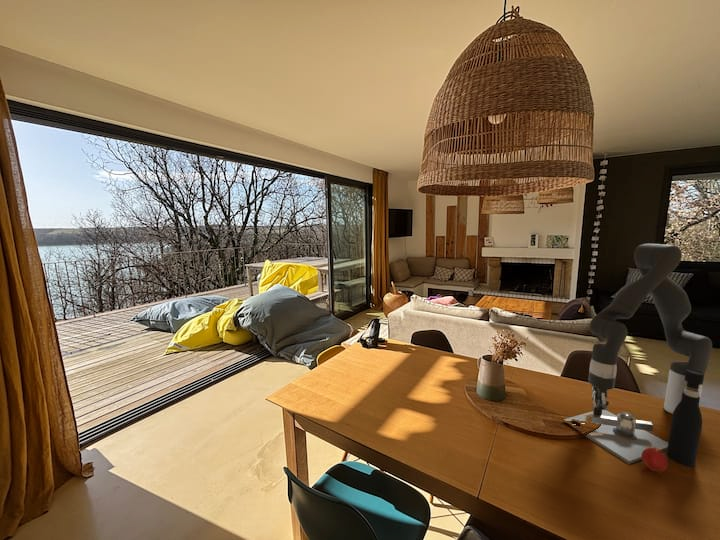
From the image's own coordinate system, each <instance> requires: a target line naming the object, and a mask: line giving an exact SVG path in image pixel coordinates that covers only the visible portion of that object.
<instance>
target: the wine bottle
mask: <svg viewBox="0 0 720 540" xmlns="http://www.w3.org/2000/svg"><path fill="white" fill-rule="evenodd" d="M704 378H705V374H704V373H702V372H700V371H697V370H692V369H687V370H686V373H685V379H684V380H685V381H687V385H686V386H687V387H685V389H684V392H683V393H682V399H681V401H680V403H679V404H678V405H677V406H676V408H675V410H674V412H673V414H672V416H671V423H670V430H669V436H668V441H667V442H668V448H667V450H666V456H667V458H669V460H671V461H673V462H675V463H677V464H679V465H681V466H684V467H689V468H691V467H692V468H693V467H695V466H696V462H697V456H698V452H699V444H700V439H701V434H702V427H703V416H702V412H701V408H700V403H699V401H701V397H699V394H700V393H699V385H702V384H704Z"/></svg>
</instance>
